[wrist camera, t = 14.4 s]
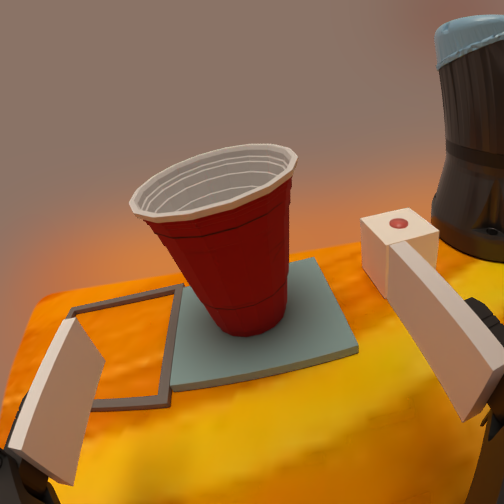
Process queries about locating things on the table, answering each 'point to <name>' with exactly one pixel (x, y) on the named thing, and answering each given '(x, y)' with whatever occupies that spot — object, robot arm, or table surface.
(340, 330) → the pad
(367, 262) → the die
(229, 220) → the plastic cup
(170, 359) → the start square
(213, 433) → the table surface
